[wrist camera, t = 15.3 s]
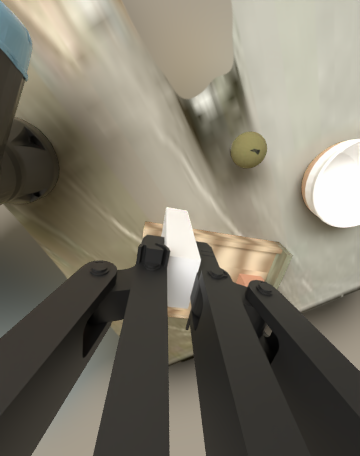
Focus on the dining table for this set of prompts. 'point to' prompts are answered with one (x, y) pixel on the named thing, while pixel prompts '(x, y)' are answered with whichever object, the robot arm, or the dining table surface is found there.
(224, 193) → the dining table surface
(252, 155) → the light bulb
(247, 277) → the block
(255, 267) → the box
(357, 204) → the bowl
